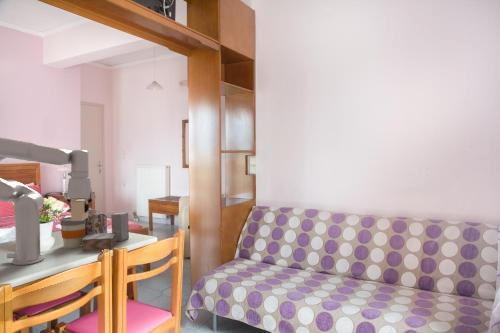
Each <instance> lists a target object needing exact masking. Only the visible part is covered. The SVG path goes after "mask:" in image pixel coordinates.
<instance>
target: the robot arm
mask: <svg viewBox="0 0 500 333" xmlns="http://www.w3.org/2000/svg"><path fill="white" fill-rule="evenodd" d="M6 158H8V159H16V160H21V161H26V162H35V163H36V162H37V163H40V164H41V163H43V164H49V165H55V166H65V165H71V166H70V168H71V170H70V172H68V173H67V176H69V179H68V183H67V189H66V190H67V191H66V193H65V195H64V196H63V199H64V200H65V201H66V202H68V203H69V205H71V202H73V201H75V200H79V199H84V200H85V213H86V212H88V210H89V209H90V203H91V202H93V200H95V199H96V198H97V196H96V194H95V193H94V192H93V190H92V189H93V188H92V181H91V178H90V177H89V151H88V150H85V149H73V150H69V149H66V148H65V149H63V148H55V147H49V146H45V145H44V146H43V145H38V144H36V143H32V142H30V141H29V142H28V141H22V140H18V139H17V140H16V139H10V138H5V137H4V138H3V137H0V162H1V161H3V160H5V159H6ZM0 202H3V203H5V202H12V203H13V215H14V220H15V221H14V222H15V223H14V224H15V227H14V228H15V252H9V253H8V252H7V253H6V259H12V260H11V263H12V265H15V266H25V265H26V266H27V265H32V264H37V263H41V262H43V261H44V260H45V256H44V255H42V254H41V224H40V223H41V222H40V221H41V220H40V213H39V212H40V211H39V210H40V209H41V208H43V206H44V204H45V198H44V197H43V195H42V194H40V193H39V192H38V191H36V190H34V189H32V188H30V187H28V186H27V185H25V184H23V183H22V182H19V181H17V180H13V179H12V180H11V179H8V180H6V179H4V178H1V177H0Z"/></svg>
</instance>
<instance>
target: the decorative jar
mask: <svg viewBox="0 0 500 333" xmlns="http://www.w3.org/2000/svg"><path fill="white" fill-rule="evenodd" d="M98 233H108V218H107V215H106V214H105V213H104V212H103V211H98V210H97V209H95V208H92V209H91V208H89V210H88V218H86V223H85V236H86V235H88V234H98ZM85 236H84V237H85ZM84 237H83V238H84Z"/></svg>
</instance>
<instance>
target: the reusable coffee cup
mask: <svg viewBox="0 0 500 333" xmlns="http://www.w3.org/2000/svg"><path fill="white" fill-rule="evenodd" d="M85 223H86V219H85V220H83V221H71V216H69V217H63V218H61V219H60V228H61V229H60V233H61V238H62V241H63V246H64V247H65V248H67V249H68V248H71V249H72V248H78V247H82V246H83V240H82V239H83V237H84V236H85ZM81 245H82V246H81Z"/></svg>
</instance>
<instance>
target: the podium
mask: <svg viewBox="0 0 500 333" xmlns="http://www.w3.org/2000/svg"><path fill="white" fill-rule="evenodd" d="M116 234H117V233H112V232H107V233H98V234H88V235H86V236H85V237H84V238H83V239H82V240H83V245H82V251H102V250H103V249H107V250H112V249H113V248H114V246H115V245H116V243H117V241H116Z"/></svg>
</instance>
